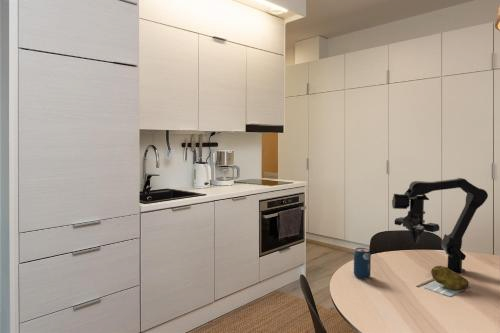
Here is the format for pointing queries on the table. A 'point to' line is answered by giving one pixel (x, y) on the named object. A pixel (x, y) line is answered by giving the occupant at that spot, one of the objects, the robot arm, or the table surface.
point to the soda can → (362, 263)
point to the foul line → (425, 282)
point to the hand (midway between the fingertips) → (415, 242)
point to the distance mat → (442, 289)
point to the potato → (449, 278)
